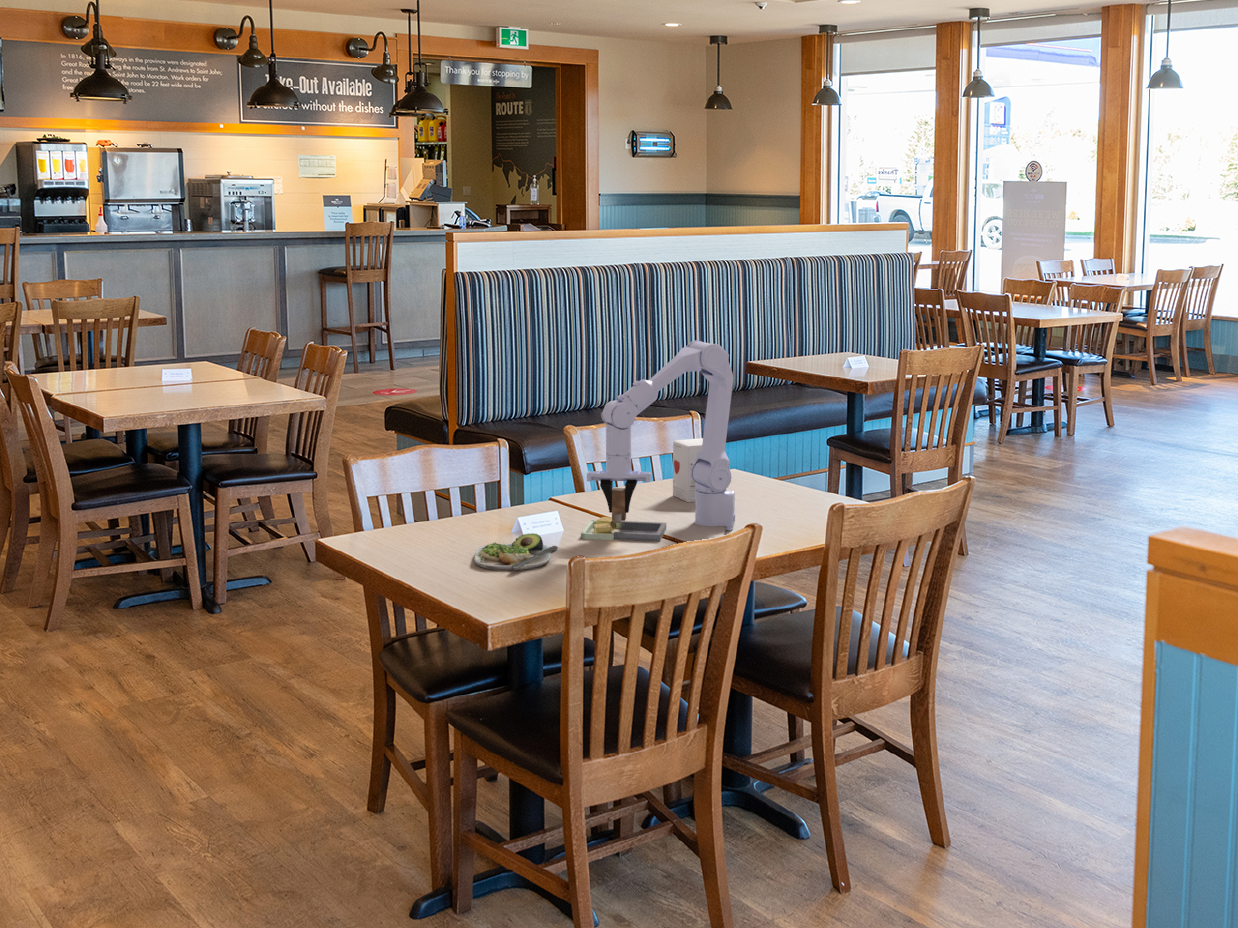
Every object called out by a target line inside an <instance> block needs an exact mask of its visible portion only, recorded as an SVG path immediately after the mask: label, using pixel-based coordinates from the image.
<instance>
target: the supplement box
mask: <svg viewBox="0 0 1238 928" xmlns="http://www.w3.org/2000/svg"><path fill="white" fill-rule="evenodd" d="M702 443H703V437H699V438H689V439H676V440H673V441H672V496H673V497H675V498H678V499H680V500H683V501H684V502H686V503H695V498H696V487H695V482H694V481H693V480H692V478H691V468H692V466H693V464H694V462H695V460H696V454H697V453H698V452H699V451H700V450H701V448H702Z"/></svg>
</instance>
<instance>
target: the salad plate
mask: <svg viewBox="0 0 1238 928" xmlns="http://www.w3.org/2000/svg"><path fill="white" fill-rule="evenodd" d="M558 548H559V547H558V546H557V545H552V546H548V545H546V544H544V542H543V538H542V537H541V536H540V534H538V533H524V534H521V535H519V536H518V537H516V538H515V540H514V541H513V542H512V543H497V542H492V543H489V544H486V545H482V546H480V547H478V548H477V549H476V551H475V554H474V557H473V560H474V564H476V565H478V566H479V567H481V568H483V569H486V570H492V571H493V570H494V571H525V570H529V569H534V568H538V567H542V566H544V565H546V564H547V563H548V562H549V561H550V560H551V553H554V552H555V551H556V550H557V549H558ZM531 555H532V556H531ZM485 560H488V561H494V562H500V563H502V565H501V564H491V563H487V562H485Z"/></svg>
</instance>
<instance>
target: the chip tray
mask: <svg viewBox="0 0 1238 928" xmlns="http://www.w3.org/2000/svg"><path fill="white" fill-rule="evenodd" d="M594 524H597V520H590V521H589V523H588V524H587V525H586V527H585V528H584V529H583V530H582V532H581V533H580V539H581V540H583V539H584V540H598V541H599V540H603V541H615V540H614V533H612V534H605V533H594V532H591V531H592V530H593V529H594ZM616 528H620V529H621V523H616Z"/></svg>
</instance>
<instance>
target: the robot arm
mask: <svg viewBox="0 0 1238 928" xmlns="http://www.w3.org/2000/svg"><path fill="white" fill-rule="evenodd" d="M729 358H730V354H729V353H728V352H727V351H726V350H725V349H724V347H722V345H720V344H716V343H709V342H704V341H702V340H698V339H697V340H693V341H690V342H689V343H688V344H687V345H686V346H684V347H682V348H680V349H679V352H677V354H676V355H675V356H674V357H673V358H672V359H671V360H670V361H668V362H667V363H666V364H665V365H664V366H663V367H662V368H660V370H659V371H657V372H656V373H655V374H654V375H653V376H652V377H650V379H640V380H635V381H634V382H633V383H632V386H631V388H629V389H628V390H626V391H625V392H624V393H623V394H619V395H618V396H617V397H616V398H617V400H611V401H609V402H607V403H605V405H604V408H603V410H602V412H600V417H601V419H602V421H603V422H604V424H605V461H606V462H605V464H606V465H605V468H606V470H595V471H591V470H590V471H588V470H587V472H586V482H592V481H595V482H596V481H597V482H598V481H600V483H599V486H600V489H601V490H602V492H603V494H604V496H605V500H606V503H607V507H608V512H609V513H611V514H612V489H613V488H614V487H613V485H614V483H613V482H625V483H624V488H625V494H626V502H625V513H626V514H628V513H629V512H630V504H631V501H632V500H631V499H632V497H633V494H634V491H635V489H636V486H637V485H638V482H645V483H651V480H652V477H651V476H652V475H651V474H652V473H651V471H638V470H632V429H631V428H632V426H633V425H634V424H635V421H636V418H637V416H638V415H639V414H641V413H642V412H643V411H644V410H646V409H647V408H648V407H649V406H650V405H652V404H653V403H654V402H656V401H657V399H658V396H659V391H661V390H663V388H665V387H666V386H668V385H669V384H671V383H672V382H673V381H675V380H676V379H678V378H679V377H680V376H682V375H683V374H684V373H687V372H688V373H690V372H691V373H692V372H699V373H701V375H702V376H703V377H704V378H705V379H706V380H707V381H708V383H709V386H708V394H707V401H706V402H707V403H706V410H705V419H704V428H703V436H702V438H703V443H702V448H701V450H700V451H699V452H698V453H697V454H696V460H695V462H694V464H693V466H692V468H691V478H692V480H693V481H694V482H695V487H696V498H695V502H694V503H695V505H694V506H695V507H694V508H695V511H694V512H695V515H694V520H695V521H694V523H695V524H697V525H699V526H704V527H725V531H732V530H733V529H734V528H733V527H734V525H735V522H736V514H735V511H736V510H735V509H736V508H735V502H736V501H735V500H736V498H735V497H736V496H735V495H736V493H735V491H734V490H729V489H727V488H729V486H730V484H731V483H732V472H731V469H730V464H731V462H730V458H729V457H728V455H727V453H726V444H727V435H728V428H729V420H730V419H729V418H730V412H731V403H732V402H731V401H732V394H733V387H734V386H733V385H734V374H733V371H732V368H731V364H730V362H729Z"/></svg>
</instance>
